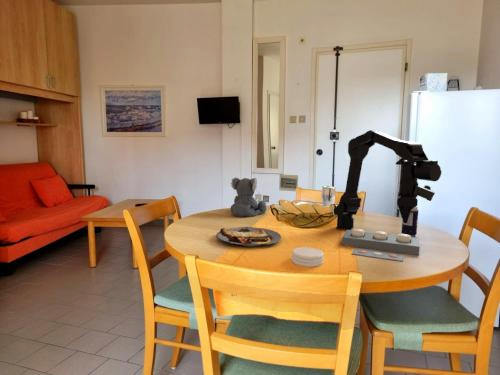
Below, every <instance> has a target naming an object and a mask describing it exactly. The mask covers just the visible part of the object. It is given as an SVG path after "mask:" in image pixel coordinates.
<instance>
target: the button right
mask: <svg viewBox="0 0 500 375" xmlns="http://www.w3.org/2000/svg"><path fill="white" fill-rule="evenodd" d="M397 235H398V236H397V241H399V242H407V243H410V240H411V236H410V235H407V234H402V233H398V234H397Z"/></svg>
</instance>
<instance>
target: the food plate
mask: <svg viewBox="0 0 500 375" xmlns="http://www.w3.org/2000/svg"><path fill="white" fill-rule="evenodd" d="M215 237H216V238H217V240H220V241H222V242H223V243H226V244H227V243H228V244H230V245H233V244H234V245H237V246H239V245H241V246H243V247H251V248H253V247H256V246H257V247H258V246H259V247H260V246H262V245H263V246H265V245H272V244H276V243H278V242H279V240H281V238H282V235H281V234H280V233H279V232H278V231H275V230H272V229H268V228H264V227H263V228H262V227H252V226H242V227H241V226H239V227H232V228H226V227H222V228H220V230H219V231H218V232H217V233H216V235H215Z"/></svg>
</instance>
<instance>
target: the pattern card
mask: <svg viewBox="0 0 500 375" xmlns="http://www.w3.org/2000/svg"><path fill="white" fill-rule="evenodd" d="M353 254H355V256H359V257H360V256H362V257H367V258H368V257H369V258H377V259H380V260H381V259H382V260H388V261H389V260H390V261H398V262H403V261H404V253H398V252H390V251H383V250H376V249H368V248H361V247H353V251H352V252H351V255H353Z"/></svg>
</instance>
